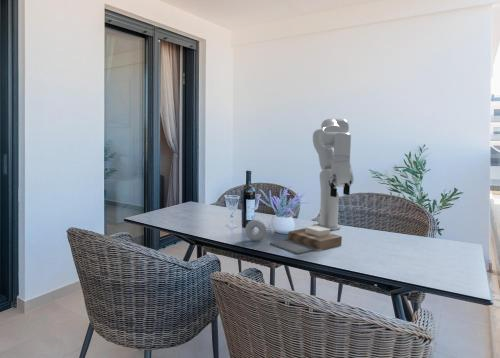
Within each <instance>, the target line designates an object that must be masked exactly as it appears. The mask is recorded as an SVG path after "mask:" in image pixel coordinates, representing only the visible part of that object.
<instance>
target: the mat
mask: <svg viewBox="0 0 500 358" xmlns="http://www.w3.org/2000/svg"><path fill="white" fill-rule="evenodd" d="M269 244H270V245H271V246H274V247H276V248H279V249H281V250H285V251H288V252H290V253H292V254H295V255H302V254H306V253H310V252H315V251H317V250H318V249H316V248H313V247H310V246H307V245H304V244H301V243H298V242H295V241H292V240H289V239H282V240H278V241H274V242H269Z"/></svg>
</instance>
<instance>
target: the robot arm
mask: <svg viewBox="0 0 500 358" xmlns="http://www.w3.org/2000/svg"><path fill="white" fill-rule="evenodd" d="M349 129H350V125H349V122H348V121H347V120H346V119H345V118H326V119H324V120H323V121H322V122H321V126H320V128H319V129H316V130H314V131H313V133H312V143H313V144H312V145H313V146H314V149H315V151H316V153H317V155H318V160H319V161H318V162H319V166H320V169H321V171H320V173H319V184H320V203H319V204H320V205H319V216H316V218H315V219H314V221H315V222H317V224H316V226H320V227H324V228H328V229H330V231H333V230H334V231H336V230H340V229H341V225H340V224H339V202H340V201H339V200H340V199H339V198H340V197H339V192H338V188H343V189H342V190H343V192H342V193H343V195H345V196H349V195H350V193H351V191H350V190H351V186H353V184H354V174H353V170H352V165H351V144H352V143H351V142H352V135H351V134H350V133H349Z"/></svg>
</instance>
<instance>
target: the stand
mask: <svg viewBox="0 0 500 358" xmlns="http://www.w3.org/2000/svg"><path fill="white" fill-rule="evenodd" d="M287 232H288V235H287V236H288V237H287V238H288V239H289V240H292V241H295V242H298V243H301V244H304V245H307V246H310V247H313V248H316V249H317V250H319V251H323V250H326V249H327V250H328V249H330V248H334V247H338V246H342V242H343V239H342V238H343V237H342V235H338V234H335V233H331V232H330V234H329V235H324V236H316V235H313V234H309V233H306V232H305V228H300V229H294V230H290V231H287Z"/></svg>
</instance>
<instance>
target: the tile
mask: <svg viewBox="0 0 500 358" xmlns="http://www.w3.org/2000/svg"><path fill="white" fill-rule="evenodd" d="M305 232H306V233H309V234H313V235H316V236H324V235H329V234H330V233H331V230H330V229H328V228H324V227H320V226H317V224H315V225H311V226H310V225H309V226H305Z"/></svg>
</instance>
